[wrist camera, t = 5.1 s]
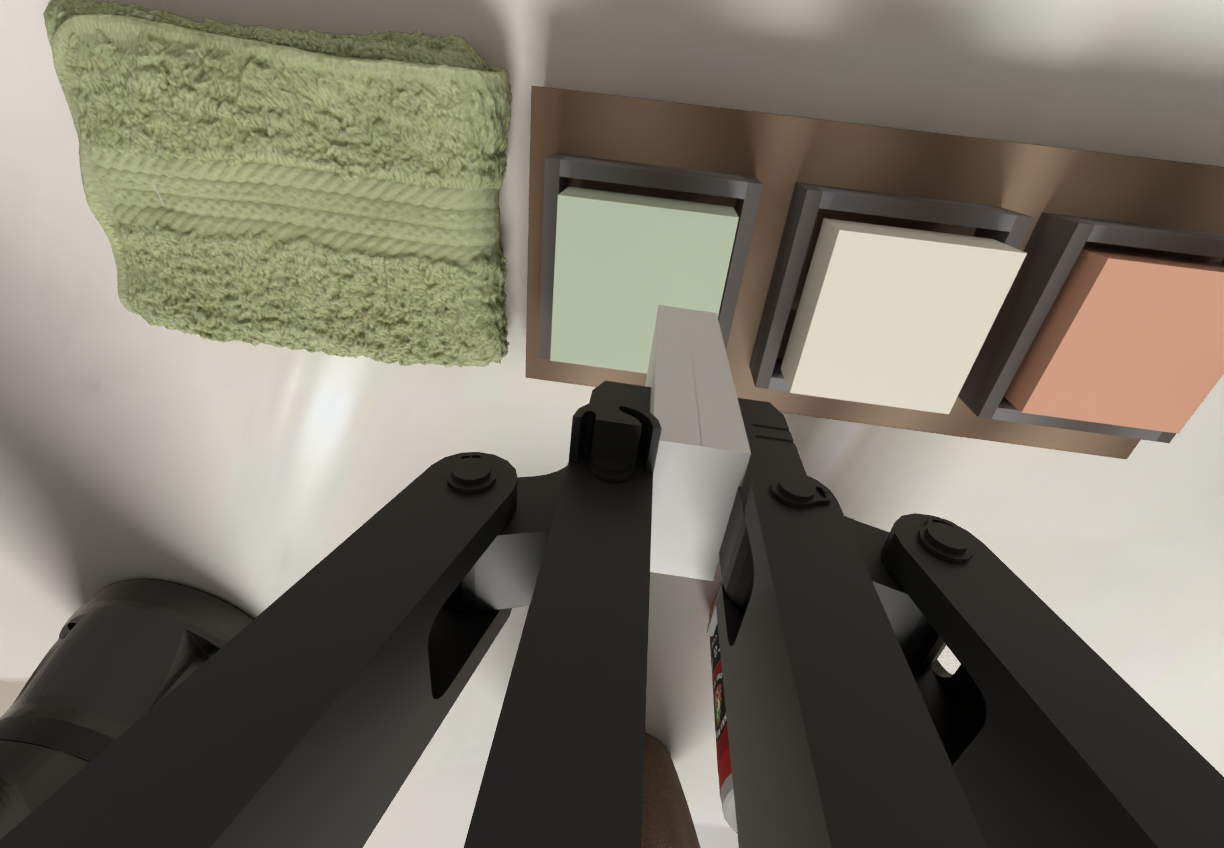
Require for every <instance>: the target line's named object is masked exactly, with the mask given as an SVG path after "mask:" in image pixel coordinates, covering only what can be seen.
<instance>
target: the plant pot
mask: <svg viewBox="0 0 1224 848" xmlns="http://www.w3.org/2000/svg"><path fill="white" fill-rule="evenodd" d="M641 848H700V845H699V842H698V838H697V835H696V831H695V828H694V824H693V821H692V818H691V814H690V811H689V808H688V805H687V801H686V798H685V795H684V792H683V789H682V786H681V783H680V781H679V778H678V775H677V772H676V770H675V767H674V764H673V762H672V759H671V756H670V754H669V752H668V750H667V749H666V747H665V746H664V745H663V744H662V743H660V742H659V741H658V740H657V739H655V738H653V737H651V736H649V735H647V734H645V742H644V773H643V804H642V835H641Z"/></svg>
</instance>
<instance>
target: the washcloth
mask: <svg viewBox="0 0 1224 848" xmlns="http://www.w3.org/2000/svg"><path fill="white" fill-rule="evenodd" d="M43 14H44V19H45V26H46V29H47V35H48V39H49V42H50V45H51V48H52V52H53V61H54V66H55V70H56V73H57V76H58V79H59V82H60V84H61V87H62V89H63V92H64V95H65V97H66V100H67V103H68V105H69V108H70V111H71V114H72V118H73V121H74V125H75V128H76V131H77V134H78V138H79V155H80V168H81V176H82V181H83V187H84V191H85V194H86V199H87V203H88V205H89V207H90V209H91V211H92V213H93V214H94V215H95V217H96V218H97V220H98V221H99V223H100V224H101V226H102V227H103V229H104V231H105V233H106V235H107V237H108V239H109V242H110V243H111V247H112V250H113V254H114V258H115V263H116V266H117V275H118V296H119V299H120V302H121V303H122V304H123V306H124V307H125V308H126V309H127V310H129V311H130V312H133V313H136V314H139V315H141V316H142V317H143V318H144V319H145V320H146V321H147V322H148V323H149V324H150V325H157V326H163V325H164V326H165V327H166V328H167V329H173V330H174V329H177V330H180V331H182V332H184V333H189V334H194V335H196V334H199V335H200V337H202V338H204V339H209V340H210V339H211V340H212V341H214V340H216V341H221V342H227V341H233V340H235V341H241V340H242V341H243V342H245V343H251V344H252V345H254V346H256V345H257V344H259V343H261V342H262V343H264V344H269V345H273V346H276V347H285V346H286V347H287V348H289V349H295V350H301V349H306V350H307V351H308V352H315V351H318V352H319V351H323V352H324V353H326V354H328V355H337V356H342V357H344V356H348V357H354V358H357V357H358V356H361V355H364V356H365V357H370V358H372V359H373V360H375V361H377V362H379V361H382V362H385V363H388V364H390V363H394V362H397V361H399V364H400V365H401V366H402V365H404V366H406V365H412V364H413V363H421V364H423V365H427V364H429V363H433V364H439V365H444V366H445V367H451V366H453V365H458V366H460V367H462V366H486V365H488V364H489V363H490V362H496V363H498V362H499V363H501V359H502V358H503V357H505V356H506V354H507V353H508V347H507V346H508V345H509V342H507V341H506V340H507V339H506V338H507V330H506V326H507V319H506V316H505V315H504V313H505V309H506V305H505V304H504V302H505V301H506V294H505V293H504V283H505V281H504V280H505V278H506V271H507V270H506V268H505V266H506V262H507V261H508V260H507V259H506V258H505V257H504V256H503V255H502V254H503V253H502V251H501V249H500V246H499V238H500V225H499V222H500V209H499V206H498V200H499V191H498V190H499V188H500V187H501V186H502V182H503V178H504V174H505V172H506V168H505V167H506V166H507V162H506V158H507V156H506V155H505V154H504V153H503V151H504V150H505V148H506V146H507V143H508V139H507V134H506V133H507V131H508V128H509V125H510V117H511V109H510V103H511V101H512V94H511V92H510V87H511V86H510V85H509V84H508V74H507V72H506V71H505V70H504V69H500V68H498V67H493V66H488V65H487V64H486V62H485V60H484V58H481V57H480V56H478V55H477V54H476V52H475V50H474V49H473V48H472V47H470V46H469V44H468V43H467V41H466V40H465V39H464V38H462V37H460V36H456V35H449V36H448V37H443V38H440V37H438V36H437V37H434V38H432V37H430V36H429V35H428V34H427V35H423V34H422V33H421V32H420V31H419V30H418V31H416V32H415V33H413V34H412V35H410V34H408V33H400V32H396V33H395V34H394V33H392V32H390V31H389V32H387V33H384V34H379V33H378V32H377V31H373V32H372V33H370V34H368V35H359V36H357V35H355V34H353V35H352V34H351V35H349V36H348V35H346V34H340V35H335V34H330V33H319V32H316V31H314V30H311V29H310V30H309V31H308V32H307V33H306V32H305V31H301V32H299V30H298V29H296V30H295V31H290V30H289V29H286V28H282V29H280V30H275V29H270V28H266V27H263V26H257V25H255V26H243V25H239V24H228V25H224V24H221V23H219V22H218V21H213V20H209V19H207V18H206V19H204V21H203V22H202V23H197V22H193V21H192V20H191V19H189V18H187V17H180V16H176V15H173V14H170V13H169V12H168V11H167V10H165V9H164V10H163V11H160V10H158V9H156V10H153V11H152V10H146V9H145V8H143V7H142V6H138V5H135V4H132V5H119V4H118V3H116V2H108V1H106V2H102V3H101V4H100V3H98V2H95V1H91V0H52V1H50V2H49V4H48V6H47V8H46V10H45V12H44V13H43Z"/></svg>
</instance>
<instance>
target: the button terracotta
mask: <svg viewBox="0 0 1224 848" xmlns="http://www.w3.org/2000/svg"><path fill="white" fill-rule="evenodd" d="M1223 374H1224V263H1218V262H1210V261H1202V260H1194V259H1186V258H1178V257H1170V256H1162V255H1154V254H1145V253H1137V252H1129V251H1121V250H1113V249H1105V248H1097V247H1089V246H1084V247H1083V249H1082V251H1081V253H1080V254H1079V256H1078V258H1077V260H1076V262H1075V264H1074V266H1073V268H1072V269H1071V271H1070V273H1069V275H1068V277H1067V279H1066V281H1065V282H1064V284H1063V286H1062V288H1061V290H1060V292H1059V294H1058V296H1057V297H1056V299H1055V301H1054V303H1053V305H1052V307H1051V309H1050V310H1049V312H1048V314H1047V316H1046V318H1045V320H1044V322H1043V324H1042V325H1041V327H1040V329H1039V331H1038V333H1037V335H1036V337H1035V339H1034V340H1033V342H1032V344H1031V346H1030V348H1029V350H1028V352H1027V353H1026V355H1025V357H1024V359H1023V361H1022V363H1021V365H1020V367H1019V368H1018V370H1017V372H1016V374H1015V376H1014V378H1013V380H1012V381H1011V383H1010V385H1009V387H1008V389H1007V391H1006V393H1005V395H1004V396H1003V397H1005V398H1006V399H1007V400H1008V401H1009V402H1010V403H1011V404H1012V405H1014V406H1015V407H1016V408H1017V409H1018V410H1019V411H1020V412H1021V413H1029V414H1036V415H1044V416H1051V417H1058V418H1066V419H1073V420H1081V421H1088V422H1096V423H1103V424H1111V425H1118V426H1126V427H1133V428H1140V429H1148V430H1155V431H1163V432H1170V433H1179V432H1180V431H1181V429H1182V428H1183V427H1184V425H1185V424H1186V423H1187V421H1188V420H1189V419H1190V417H1191V416H1192V415H1193V414H1194V412H1195V411H1196V410H1197V408H1198V407H1199V406H1200V404H1201V403H1202V402H1203V400H1204V399H1205V398H1206V396H1207V395H1208V394H1209V392H1210V391H1211V390H1212V388H1213V387H1214V386H1215V384H1216V383H1217V382H1218V380H1219V379H1220V378H1221V376H1222V375H1223Z"/></svg>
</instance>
